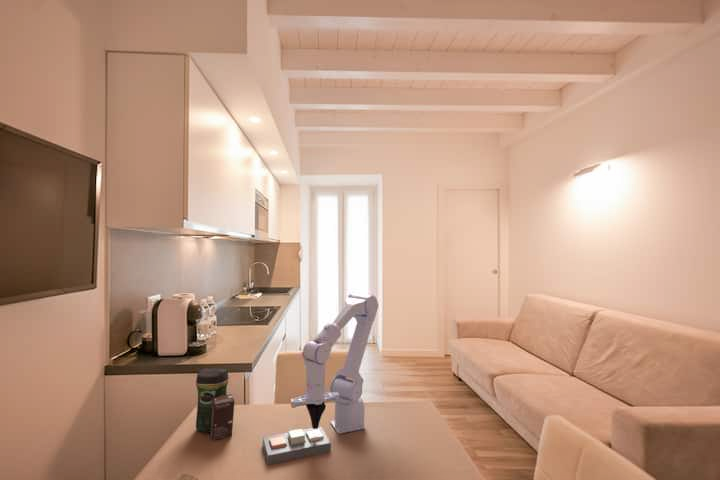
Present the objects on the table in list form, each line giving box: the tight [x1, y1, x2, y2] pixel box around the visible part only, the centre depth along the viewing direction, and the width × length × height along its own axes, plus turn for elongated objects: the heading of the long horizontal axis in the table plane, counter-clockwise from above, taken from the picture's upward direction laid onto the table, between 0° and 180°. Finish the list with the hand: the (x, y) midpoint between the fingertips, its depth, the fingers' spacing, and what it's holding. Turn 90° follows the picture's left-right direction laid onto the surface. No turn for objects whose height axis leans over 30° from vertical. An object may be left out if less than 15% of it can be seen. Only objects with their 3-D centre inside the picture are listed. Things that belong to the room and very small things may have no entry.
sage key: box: [288, 428, 305, 446], centre depth 109 cm, size 4×4×3 cm
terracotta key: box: [270, 436, 286, 449], centre depth 107 cm, size 4×4×3 cm
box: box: [210, 394, 235, 441], centre depth 115 cm, size 6×4×12 cm
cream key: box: [306, 430, 323, 442], centre depth 111 cm, size 4×4×3 cm
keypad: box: [262, 426, 332, 465], centre depth 109 cm, size 18×10×2 cm, turn 112°
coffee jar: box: [195, 368, 230, 433], centre depth 120 cm, size 10×8×19 cm
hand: (315, 427), depth 111 cm, fingers closed
